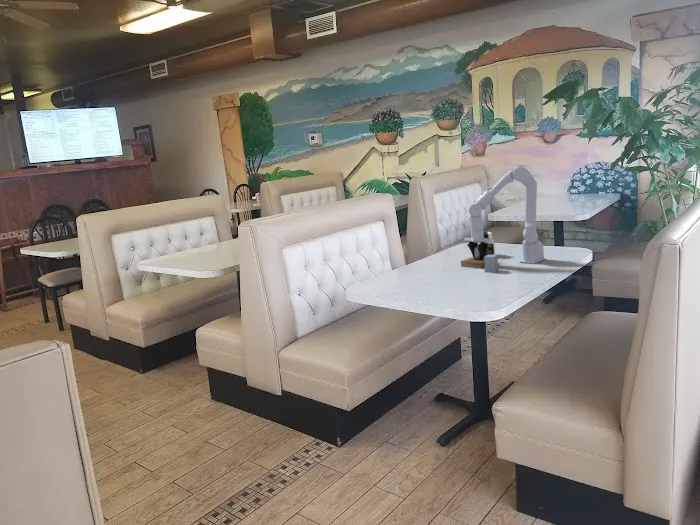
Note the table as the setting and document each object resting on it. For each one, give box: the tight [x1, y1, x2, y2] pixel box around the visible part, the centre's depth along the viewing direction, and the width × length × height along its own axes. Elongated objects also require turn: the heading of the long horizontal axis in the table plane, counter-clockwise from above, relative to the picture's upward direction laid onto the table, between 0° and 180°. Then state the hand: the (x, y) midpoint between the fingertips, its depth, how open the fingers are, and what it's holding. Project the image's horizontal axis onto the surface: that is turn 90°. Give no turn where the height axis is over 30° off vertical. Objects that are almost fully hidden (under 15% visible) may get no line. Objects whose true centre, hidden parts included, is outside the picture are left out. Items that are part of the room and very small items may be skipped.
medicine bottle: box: [478, 231, 496, 256], centre depth 280 cm, size 7×7×12 cm
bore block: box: [460, 256, 485, 269], centre depth 264 cm, size 12×12×3 cm
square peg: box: [484, 254, 499, 273], centre depth 249 cm, size 4×4×7 cm
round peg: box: [474, 245, 483, 261], centre depth 263 cm, size 4×4×7 cm
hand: (478, 257), depth 264 cm, fingers closed on round peg, 4 cm apart
